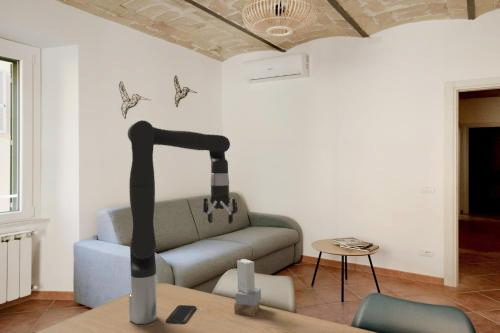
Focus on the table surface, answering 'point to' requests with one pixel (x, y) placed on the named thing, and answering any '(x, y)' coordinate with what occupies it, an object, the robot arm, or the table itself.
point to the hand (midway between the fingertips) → (220, 223)
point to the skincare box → (245, 276)
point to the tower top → (248, 297)
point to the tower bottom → (245, 309)
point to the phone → (181, 314)
